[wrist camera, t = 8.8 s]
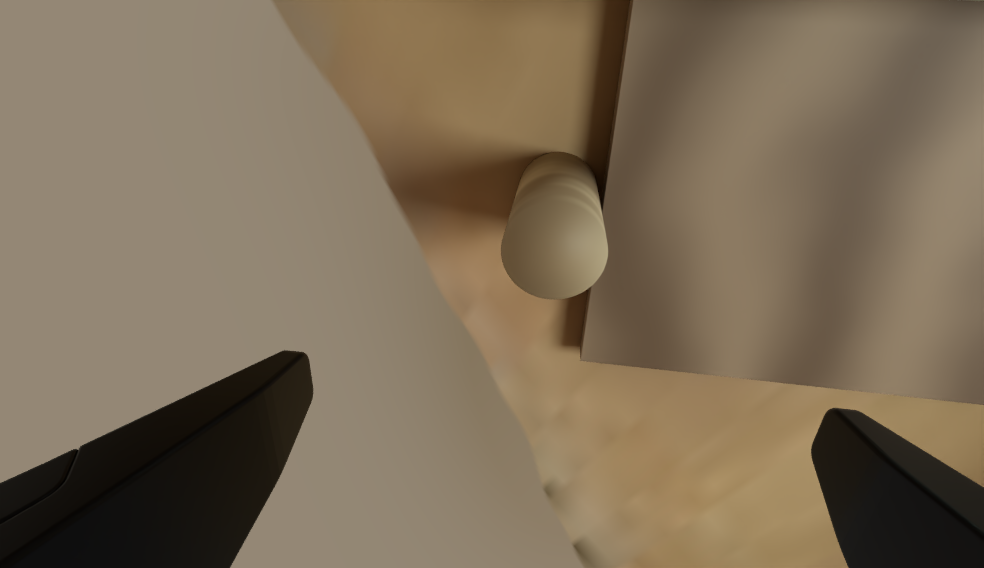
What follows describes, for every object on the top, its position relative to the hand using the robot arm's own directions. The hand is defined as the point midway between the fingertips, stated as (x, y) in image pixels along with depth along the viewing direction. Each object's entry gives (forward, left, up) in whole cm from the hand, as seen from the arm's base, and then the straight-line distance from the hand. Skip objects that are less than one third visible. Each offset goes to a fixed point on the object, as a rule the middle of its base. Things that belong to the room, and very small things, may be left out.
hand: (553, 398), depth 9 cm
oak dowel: (0, 0, -12) cm, 12 cm away
